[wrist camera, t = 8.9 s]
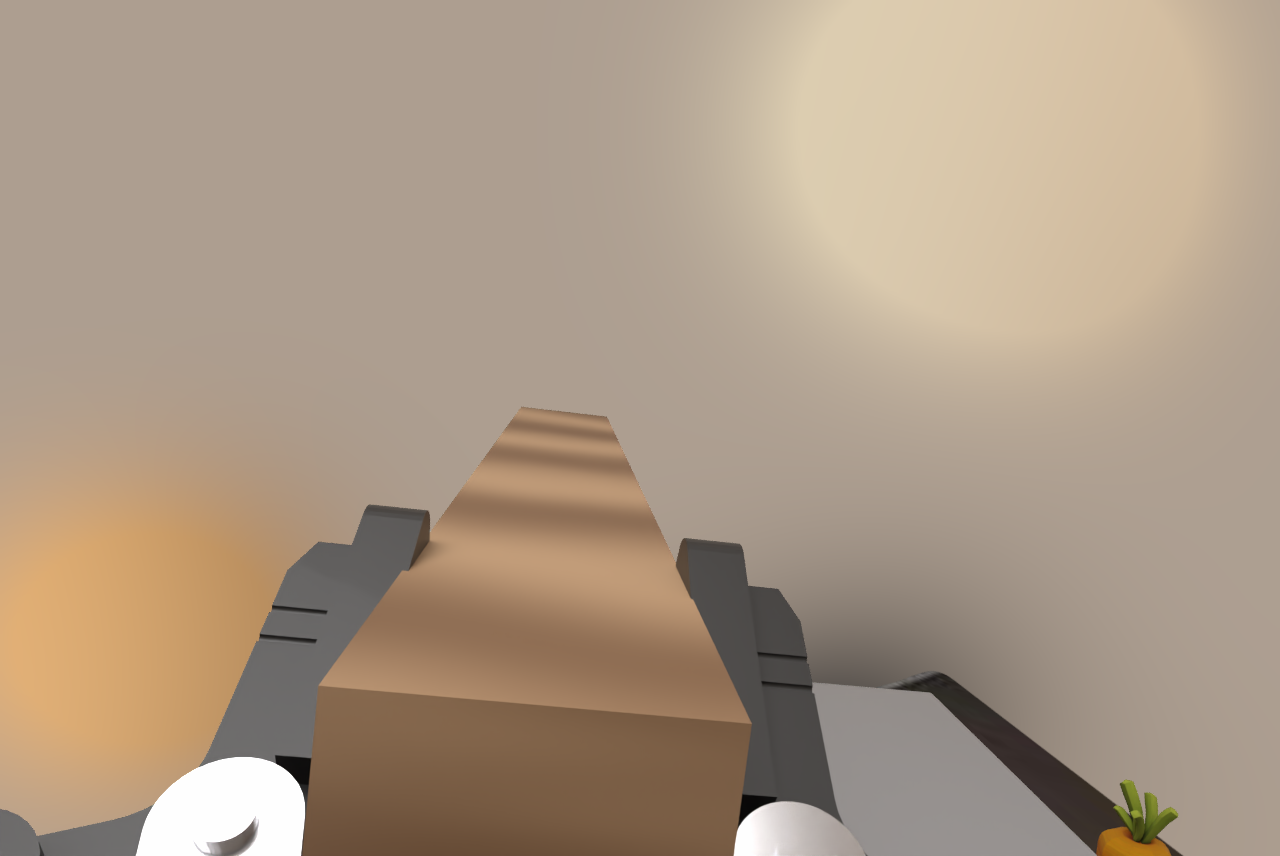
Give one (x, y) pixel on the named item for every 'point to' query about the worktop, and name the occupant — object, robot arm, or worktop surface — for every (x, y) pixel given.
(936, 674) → the worktop surface
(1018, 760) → the worktop surface
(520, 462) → the walnut rail
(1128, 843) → the carrot
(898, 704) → the gray box
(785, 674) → the robot arm
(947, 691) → the worktop surface
